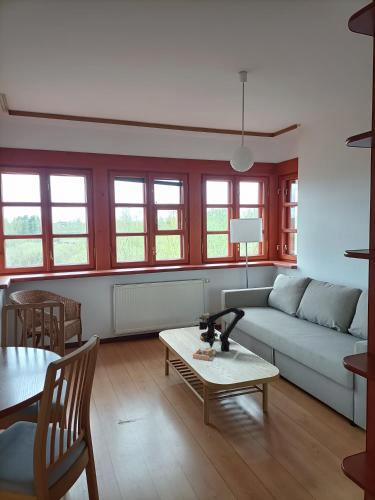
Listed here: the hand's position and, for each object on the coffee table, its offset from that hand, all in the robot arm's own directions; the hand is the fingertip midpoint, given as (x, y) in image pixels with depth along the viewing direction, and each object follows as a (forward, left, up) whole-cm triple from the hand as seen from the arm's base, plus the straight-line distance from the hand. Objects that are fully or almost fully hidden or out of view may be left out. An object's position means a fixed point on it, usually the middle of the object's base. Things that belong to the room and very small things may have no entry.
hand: (211, 347), depth 311 cm
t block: (-1, +9, -3) cm, 10 cm away
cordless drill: (+14, -25, -3) cm, 29 cm away
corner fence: (+2, +14, -3) cm, 14 cm away
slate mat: (+1, +12, -3) cm, 13 cm away
